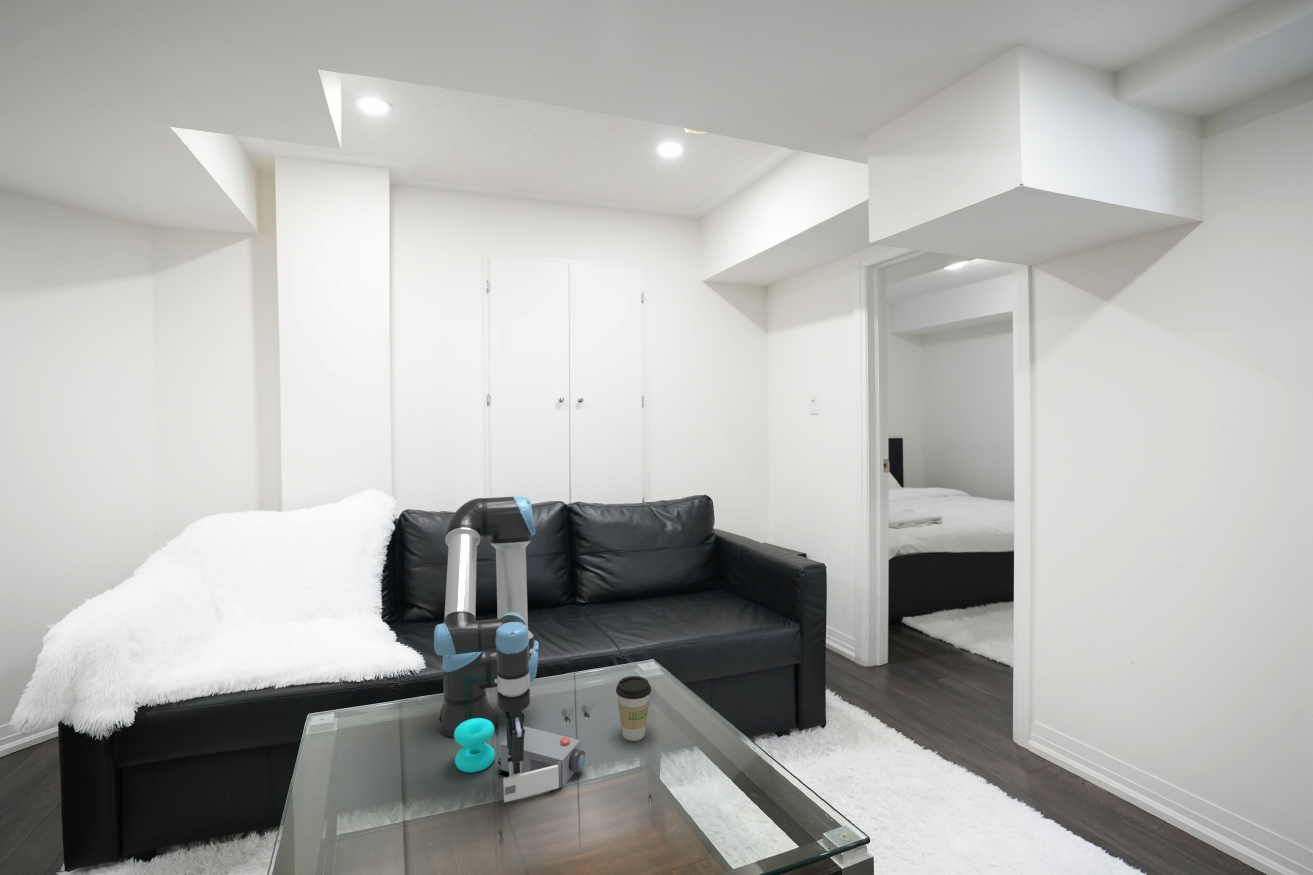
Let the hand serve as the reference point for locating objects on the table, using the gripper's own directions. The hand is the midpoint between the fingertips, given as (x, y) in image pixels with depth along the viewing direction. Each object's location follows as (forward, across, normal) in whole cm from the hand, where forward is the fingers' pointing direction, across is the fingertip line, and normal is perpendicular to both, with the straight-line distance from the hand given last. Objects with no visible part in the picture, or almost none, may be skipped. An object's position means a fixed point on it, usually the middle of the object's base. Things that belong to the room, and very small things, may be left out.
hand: (515, 782), depth 153 cm
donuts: (+3, -16, -8) cm, 18 cm away
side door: (+2, +3, +4) cm, 5 cm away
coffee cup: (+3, -12, +35) cm, 37 cm away
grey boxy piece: (+3, -6, +8) cm, 11 cm away
